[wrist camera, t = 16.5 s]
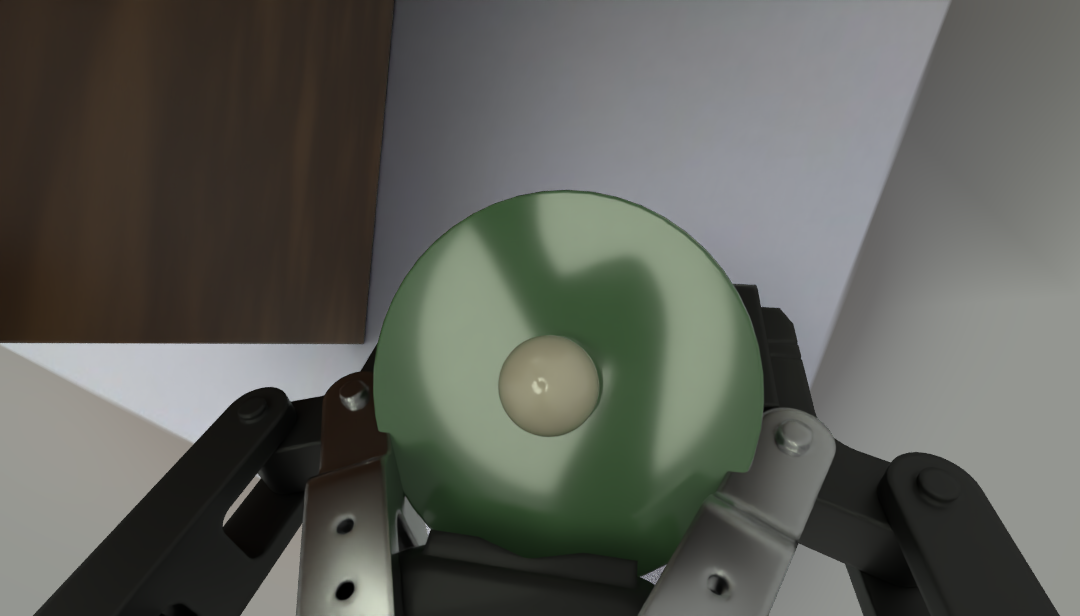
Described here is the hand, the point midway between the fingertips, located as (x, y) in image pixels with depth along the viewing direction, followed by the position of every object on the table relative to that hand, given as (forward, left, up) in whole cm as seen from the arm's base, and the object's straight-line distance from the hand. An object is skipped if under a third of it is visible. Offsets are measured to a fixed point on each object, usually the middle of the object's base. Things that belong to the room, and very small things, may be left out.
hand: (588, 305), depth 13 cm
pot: (0, -2, -4) cm, 4 cm away
